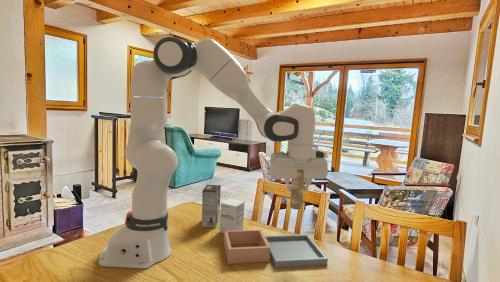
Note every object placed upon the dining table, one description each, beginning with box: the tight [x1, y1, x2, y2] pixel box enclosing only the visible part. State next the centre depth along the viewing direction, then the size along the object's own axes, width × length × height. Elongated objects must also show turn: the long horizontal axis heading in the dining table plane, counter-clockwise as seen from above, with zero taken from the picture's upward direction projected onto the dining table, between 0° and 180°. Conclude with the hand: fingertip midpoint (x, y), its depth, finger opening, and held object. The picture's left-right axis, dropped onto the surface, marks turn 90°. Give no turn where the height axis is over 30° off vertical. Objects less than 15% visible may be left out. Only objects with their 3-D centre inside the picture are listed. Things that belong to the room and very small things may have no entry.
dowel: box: [289, 170, 306, 210], centre depth 101 cm, size 4×4×14 cm
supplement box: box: [219, 198, 245, 234], centre depth 118 cm, size 7×7×13 cm
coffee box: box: [201, 184, 222, 229], centre depth 125 cm, size 9×6×16 cm
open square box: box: [223, 229, 271, 265], centre depth 103 cm, size 14×14×5 cm
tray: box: [264, 234, 329, 269], centre depth 104 cm, size 18×18×2 cm
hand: (297, 190), depth 101 cm, fingers closed on dowel, 4 cm apart
